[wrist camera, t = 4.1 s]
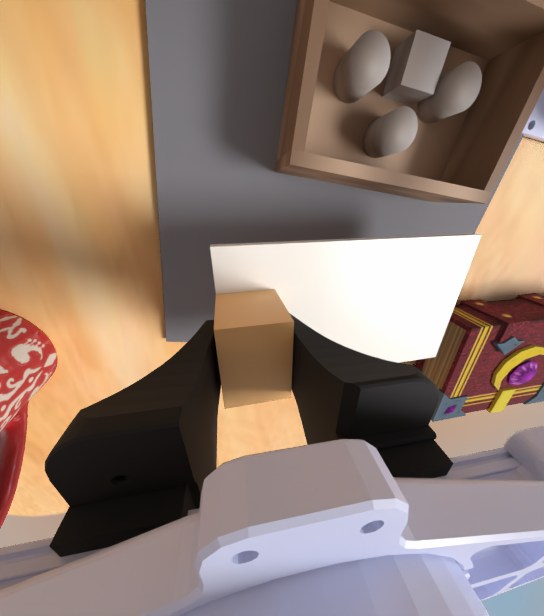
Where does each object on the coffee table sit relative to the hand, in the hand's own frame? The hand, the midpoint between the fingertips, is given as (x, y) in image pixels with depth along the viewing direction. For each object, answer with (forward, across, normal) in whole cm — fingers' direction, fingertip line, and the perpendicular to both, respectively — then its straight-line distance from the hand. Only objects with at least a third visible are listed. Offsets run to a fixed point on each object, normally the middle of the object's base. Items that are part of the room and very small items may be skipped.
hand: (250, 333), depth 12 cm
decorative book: (+7, -26, +8) cm, 28 cm away
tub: (+6, -9, -11) cm, 15 cm away
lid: (+1, -6, 0) cm, 6 cm away
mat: (+7, -7, -5) cm, 11 cm away
